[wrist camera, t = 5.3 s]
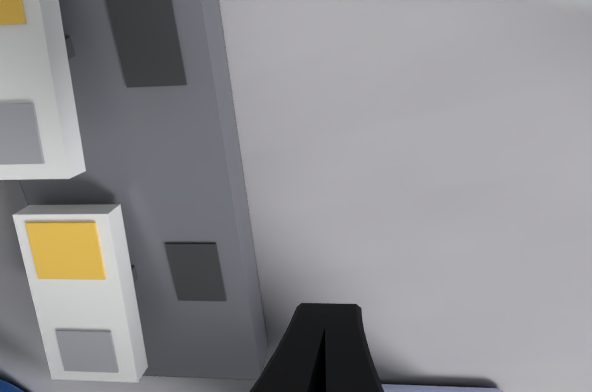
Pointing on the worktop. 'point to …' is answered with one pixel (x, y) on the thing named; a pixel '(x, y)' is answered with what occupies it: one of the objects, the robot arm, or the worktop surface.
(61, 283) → the rocker switch
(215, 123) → the power strip
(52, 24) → the outlet rocker
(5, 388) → the snack cup
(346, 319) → the robot arm
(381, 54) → the worktop surface
